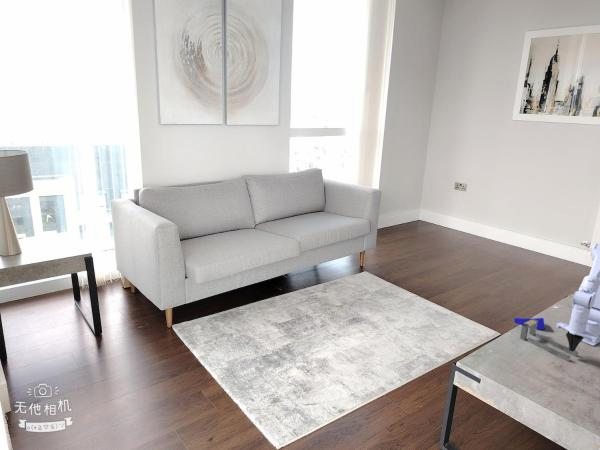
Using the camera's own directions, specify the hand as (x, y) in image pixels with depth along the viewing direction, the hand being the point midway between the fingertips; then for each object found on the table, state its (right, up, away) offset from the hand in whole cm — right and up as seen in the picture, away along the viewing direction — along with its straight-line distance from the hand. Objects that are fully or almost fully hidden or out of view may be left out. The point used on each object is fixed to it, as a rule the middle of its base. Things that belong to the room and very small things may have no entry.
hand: (572, 350), depth 172 cm
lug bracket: (-10, +1, +15) cm, 18 cm away
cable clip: (-5, +5, +23) cm, 24 cm away
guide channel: (-4, -2, +7) cm, 8 cm away
